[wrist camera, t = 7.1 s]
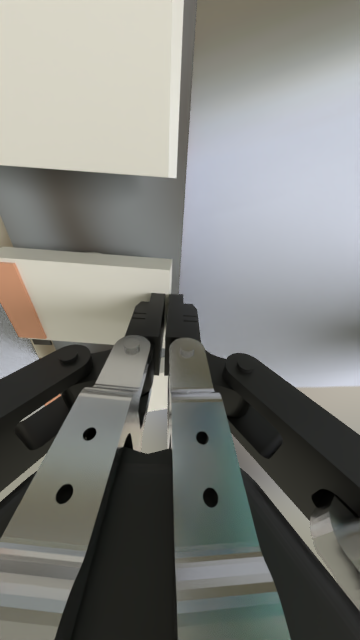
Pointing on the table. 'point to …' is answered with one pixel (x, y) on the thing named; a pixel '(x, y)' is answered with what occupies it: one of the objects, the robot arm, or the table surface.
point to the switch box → (102, 204)
